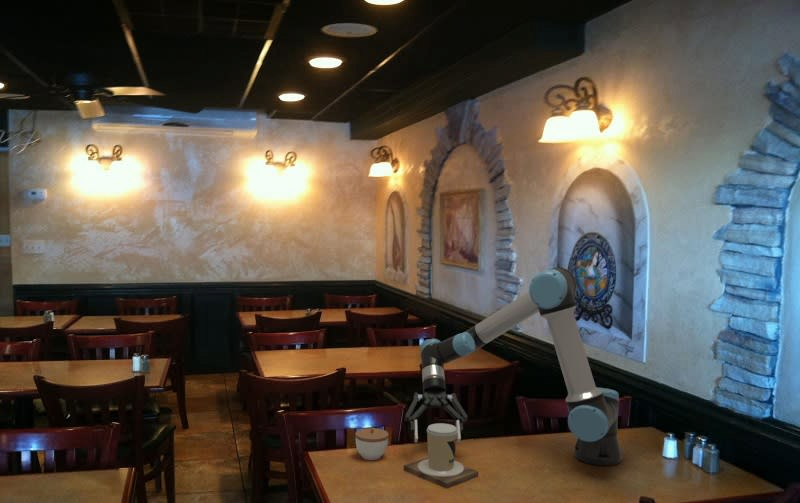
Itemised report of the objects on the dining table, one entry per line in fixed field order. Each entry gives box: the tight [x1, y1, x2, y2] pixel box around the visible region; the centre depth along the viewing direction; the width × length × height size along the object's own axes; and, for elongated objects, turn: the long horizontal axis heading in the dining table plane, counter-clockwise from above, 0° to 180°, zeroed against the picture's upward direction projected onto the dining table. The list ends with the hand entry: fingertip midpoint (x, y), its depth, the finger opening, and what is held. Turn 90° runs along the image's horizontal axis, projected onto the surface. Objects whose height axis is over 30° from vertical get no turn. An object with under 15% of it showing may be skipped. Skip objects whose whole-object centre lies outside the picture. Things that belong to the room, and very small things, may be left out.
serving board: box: [403, 457, 479, 489], centre depth 213 cm, size 18×14×2 cm
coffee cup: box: [426, 422, 458, 471], centre depth 213 cm, size 9×9×12 cm
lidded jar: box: [355, 427, 390, 461], centre depth 225 cm, size 11×11×9 cm
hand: (437, 440), depth 221 cm, fingers open, 13 cm apart
